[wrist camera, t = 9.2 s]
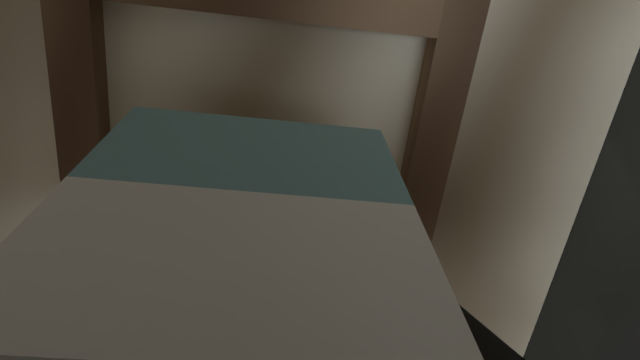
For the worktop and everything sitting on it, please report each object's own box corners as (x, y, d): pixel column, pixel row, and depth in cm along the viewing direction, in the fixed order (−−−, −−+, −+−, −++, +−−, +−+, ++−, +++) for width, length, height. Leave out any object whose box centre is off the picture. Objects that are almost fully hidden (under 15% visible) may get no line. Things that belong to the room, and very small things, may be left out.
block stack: (380, 129, 9) (494, 380, 4) (347, 318, 11) (394, 661, 6) (134, 106, 9) (-103, 349, 4) (142, 305, 11) (-7, 661, 6)
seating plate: (698, -192, 11) (766, -215, 10) (489, 396, 19) (508, 440, 17) (-185, -336, 10) (-284, -394, 8) (-24, 372, 17) (-57, 417, 15)
